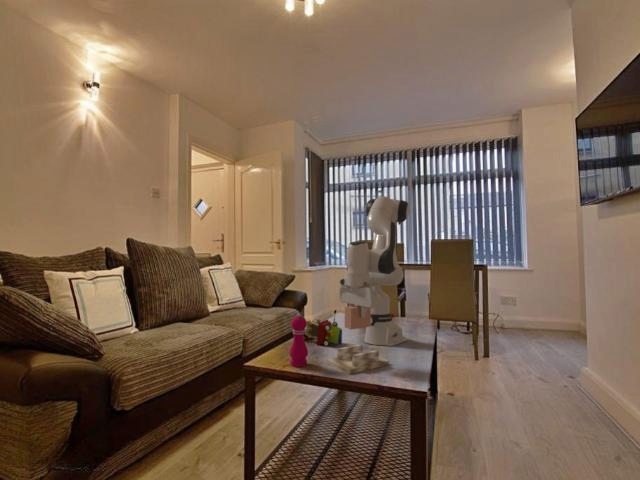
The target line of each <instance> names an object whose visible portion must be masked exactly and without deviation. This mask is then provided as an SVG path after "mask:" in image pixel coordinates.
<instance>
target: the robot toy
mask: <svg viewBox="0 0 640 480" xmlns="http://www.w3.org/2000/svg"><path fill="white" fill-rule="evenodd" d="M333 313H334V314H337V309H335V310H334V311H333ZM333 318H334V319H333V322H331V321H330V320H329V319H325V320H322V321H321V319H315V320H306V322H307V325H306V327H305V334H304V335H305V336H307V338H310V339H311V338H312V339H316V346H319V345H320V346H321V345H324V346H325V347H329V346H330V343H333V344H337V345H340V346H341V345H342V344H343V328H341V327H340V326H339V324H338V322H337V321H336V316H334V317H333Z"/></svg>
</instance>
